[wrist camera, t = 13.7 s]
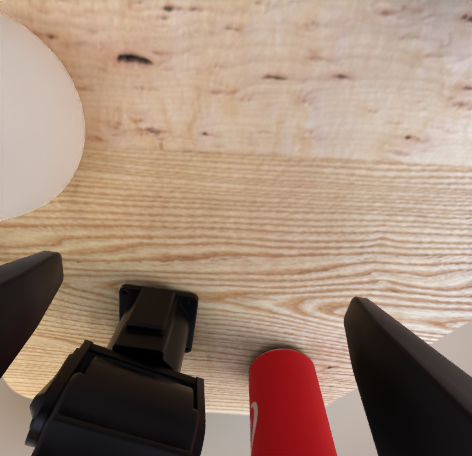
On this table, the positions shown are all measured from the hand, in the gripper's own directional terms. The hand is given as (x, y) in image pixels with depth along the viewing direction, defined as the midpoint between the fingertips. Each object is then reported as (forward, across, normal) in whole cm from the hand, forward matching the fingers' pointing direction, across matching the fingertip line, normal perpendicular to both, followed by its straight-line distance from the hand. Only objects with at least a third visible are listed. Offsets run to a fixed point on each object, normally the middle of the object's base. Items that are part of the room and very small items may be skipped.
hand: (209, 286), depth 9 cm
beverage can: (+13, -8, +18) cm, 24 cm away
